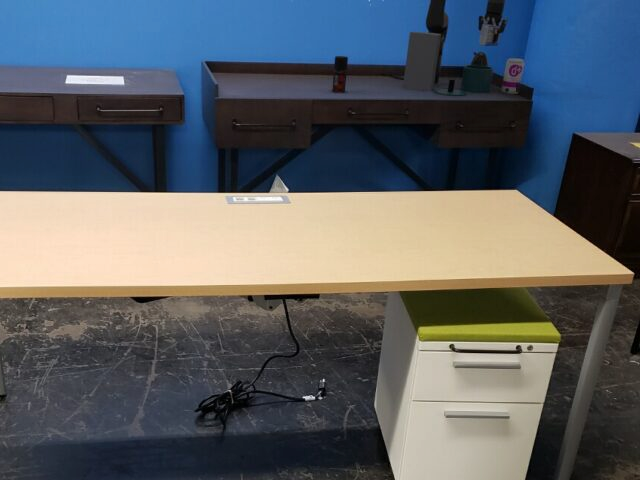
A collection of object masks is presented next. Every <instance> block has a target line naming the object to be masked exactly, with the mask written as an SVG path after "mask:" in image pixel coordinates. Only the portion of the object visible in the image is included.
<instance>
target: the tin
mask: <svg viewBox="0 0 640 480" xmlns="http://www.w3.org/2000/svg"><path fill="white" fill-rule="evenodd" d="M494 70H495V68H494V67H492V66H489V65H488V66H482V65H470V64H466V65H463V70H462V76H461V84H460V90H461V91H464V92H466V93H472V94H473V93H474V94H488V93H490V91H491V86H492V80H493V75H494Z"/></svg>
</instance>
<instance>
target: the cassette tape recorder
mask: <svg viewBox="0 0 640 480" xmlns="http://www.w3.org/2000/svg"><path fill="white" fill-rule="evenodd" d="M440 40H441V34H436V33H428V32H426V31H425V32H423V31H415V30H414V31H411V32H409V36H408V44H407V53H406V60H405V68H404V75H403V78H404V80H403V85H402V88H403V89H410V90H417V91H425V92H432V91H435V85H434V81H435V74H436V67H437V61H438V54H439V47H440Z"/></svg>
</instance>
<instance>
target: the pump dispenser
mask: <svg viewBox="0 0 640 480" xmlns="http://www.w3.org/2000/svg"><path fill="white" fill-rule="evenodd" d="M473 55H474V56H473V57H472V60H471V62H470V64H469V65H482V66H489V61H488V57H487V55H486V52H484V51H478V52H476V51H474V52H473Z"/></svg>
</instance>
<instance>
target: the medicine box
mask: <svg viewBox="0 0 640 480" xmlns="http://www.w3.org/2000/svg"><path fill="white" fill-rule="evenodd" d="M496 26H498V25H496ZM499 26H501V24H499ZM499 29H500V28H499ZM494 34H495V32H494V28H493V25H482V29H481V30H480V35H479V39H478V40H479V41H478V45H480V46H484V47H494V46H495V47H497V46H498V45H499V41H500V36H501V33H500V34H499V36H498V41H497V42H496V43H493V37H494Z"/></svg>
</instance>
